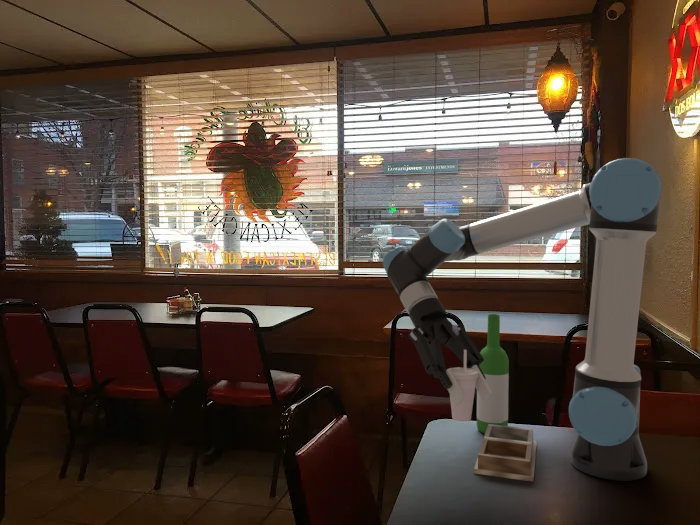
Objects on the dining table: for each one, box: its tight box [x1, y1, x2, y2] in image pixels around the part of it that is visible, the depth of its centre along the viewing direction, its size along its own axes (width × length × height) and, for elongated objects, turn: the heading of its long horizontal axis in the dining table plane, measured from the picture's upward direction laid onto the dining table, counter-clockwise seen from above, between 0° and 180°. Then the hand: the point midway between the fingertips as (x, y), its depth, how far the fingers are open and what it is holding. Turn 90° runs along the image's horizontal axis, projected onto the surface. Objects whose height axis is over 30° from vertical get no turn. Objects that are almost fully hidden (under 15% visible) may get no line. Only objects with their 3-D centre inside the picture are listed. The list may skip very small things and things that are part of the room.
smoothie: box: [448, 350, 478, 422], centre depth 115 cm, size 6×6×14 cm
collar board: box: [473, 424, 537, 483], centre depth 128 cm, size 12×21×4 cm, turn 160°
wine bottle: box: [476, 313, 510, 435], centre depth 145 cm, size 8×8×30 cm
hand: (474, 398), depth 112 cm, fingers closed on smoothie, 6 cm apart
